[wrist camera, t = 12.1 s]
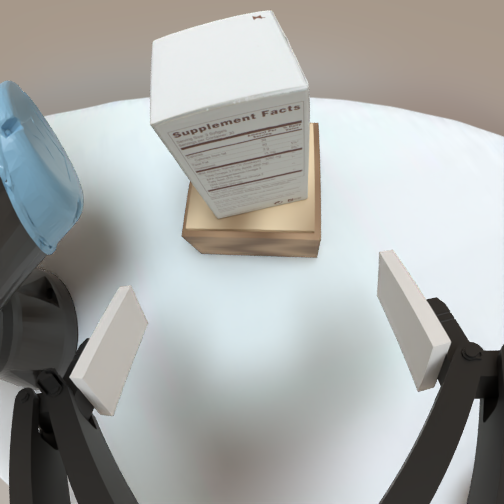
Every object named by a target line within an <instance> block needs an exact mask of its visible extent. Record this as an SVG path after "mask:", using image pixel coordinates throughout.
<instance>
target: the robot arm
mask: <svg viewBox="0 0 504 504" xmlns="http://www.w3.org/2000/svg"><path fill="white" fill-rule="evenodd" d="M82 209H83V192H82V188H81V184H80V181H79V179H78V176H77V174H76V172H75V170H74V167H73V165H72V163H71V161H70V159H69V158H68V156H67V154H66V152H65V150H64V148H63V147H62V145H61V143H60V142H59V140H58V138H57V136H56V135H55V133H54V132H53V130H52V128H51V127H50V125H49V124H48V122H47V121H46V119H45V118H44V116H43V115H42V114H41V112H40V111H39V109H38V108H37V106H36V105H35V104H34V102H33V101H32V100H31V98H30V97H29V96H28V95H27V94H26V93H25V92H23V91H22V90H21V88H20V87H19V86H18V85H17V84H16V83H14V82H12V81H4V82H3V83H1V84H0V379H2V380H4V381H7V382H9V383H12V384H15V385H17V386H20V387H23V388H24V389H22V390H21V391H19V393H18V394H17V396H16V398H15V403H14V411H13V419H12V429H11V442H10V462H9V494H10V504H71V502H70V496H69V488H68V480H67V476H68V479H69V482H70V484H71V487H72V489H73V492H74V495H75V497H76V500H77V502H78V504H138V502H137V500H136V499H135V497H134V495H133V493H132V492H131V490H130V488H129V486H128V485H127V483H126V481H125V479H124V477H123V475H122V473H121V472H120V470H119V468H118V466H117V464H116V462H115V460H114V458H113V456H112V454H111V452H110V450H109V447H108V445H107V443H106V441H105V439H104V437H103V434H102V432H101V430H100V428H99V425H98V423H97V420H96V418H95V416H94V415H93V414H92V411H93V409H94V408H95V409H96V410H97V411H98V413H99V414H100V415H108V416H114V413H115V410H116V407H117V404H118V401H119V399H120V396H121V393H122V390H123V387H124V385H125V382H126V379H127V377H128V374H129V371H130V369H131V366H132V363H133V361H134V358H135V355H136V353H137V350H138V348H139V345H140V343H141V340H142V338H143V335H144V333H145V330H146V328H147V325H148V322H147V320H146V317H145V315H144V313H143V311H142V309H141V307H140V304H139V302H138V300H137V298H136V295H135V293H134V291H133V289H132V286H131V285H130V286H121V287H119V288H118V290H117V292H116V293H115V295H114V297H113V299H112V300H111V302H110V304H109V305H108V307H107V309H106V310H105V312H104V314H103V316H102V317H101V319H100V321H99V323H98V325H97V326H96V328H95V330H94V332H93V334H92V335H91V337H90V338H87V339H86V340H85V341H84V342H83V343H82V344H81V345H80V346H79V348H78V350H77V352H76V347H77V320H76V314H75V309H74V305H73V302H72V299H71V297H70V294H69V292H68V290H67V288H66V287H65V285H64V284H63V283H62V281H61V280H60V279H59V278H58V277H57V276H56V275H54V274H53V273H51V272H48V271H45V270H42V269H39V268H36V267H37V266H38V264H39V263H40V262H41V261H42V260H43V259H44V258H45V256H46V255H49V254H50V255H51V254H52V253H53V252H54V251H55V250H56V247H57V244H58V242H59V241H60V240H61V239H62V238H63V237H64V236H65V234H66V233H67V232H68V231H69V230H70V229H71V228H72V227H73V225H74V224H75V223H76V222H77V221H78V219H79V217H80V215H81V213H82ZM377 297H378V299H379V301H380V303H381V305H382V307H383V310H384V312H385V314H386V316H387V318H388V321H389V323H390V325H391V327H392V330H393V332H394V334H395V336H396V339H397V341H398V343H399V346H400V348H401V351H402V353H403V355H404V358H405V360H406V363H407V365H408V368H409V370H410V373H411V375H412V378H413V380H414V383H415V385H416V388H417V391H418V392H420V391H423V390H427V389H430V388H433V387H434V386H435V384H436V382H437V379H438V381H439V383H440V385H441V387H440V390H439V392H438V394H437V396H436V398H435V402H434V404H433V406H432V408H431V411H430V413H429V415H428V417H427V419H426V421H425V424H424V426H423V428H422V430H421V432H420V434H419V436H418V438H417V440H416V442H415V444H414V446H413V447H412V449H411V451H410V453H409V455H408V457H407V458H406V460H405V462H404V464H403V466H402V467H401V469H400V471H399V472H398V474H397V476H396V477H395V479H394V481H393V482H392V484H391V485H390V487H389V489H388V490H387V492H386V493H385V495H384V496H383V498H382V499H381V501H380V502H379V504H430V502H431V500H432V499H433V497H434V495H435V493H436V491H437V489H438V487H439V485H440V483H441V481H442V479H443V477H444V475H445V473H446V471H447V468H448V466H449V464H450V462H451V460H452V457H453V455H454V453H455V450H456V448H457V445H458V443H459V440H460V438H461V435H462V433H463V430H464V427H465V424H466V422H467V419H468V416H469V413H470V410H471V407H472V404H473V401H474V399H480V410H479V425H478V437H477V446H476V455H475V462H474V469H473V475H472V480H471V486H470V491H469V496H468V500H467V504H504V344H503V346H502V348H501V350H499V351H484V350H483V349H482V348H481V347H480V346H479V345H478V344H476V343H474V342H469V341H468V339H467V337H466V336H465V334H464V332H463V331H462V329H461V328H460V326H459V324H458V323H457V321H456V320H455V319H454V317H453V315H452V313H450V310H449V309H448V307H447V306H446V304H445V303H443V302H442V301H441V300H439V299H438V298H437V297H436V298H432V299H427V300H426V299H425V297H424V295H423V294H422V292H421V291H420V289H419V288H418V286H417V285H416V283H415V282H414V280H413V278H412V277H411V275H410V274H409V272H408V271H407V269H406V268H405V267H404V265H403V264H402V262H401V261H400V259H399V258H398V256H397V255H396V253H395V252H394V251H393V250H389V251H383V252H379V271H378V288H377ZM75 352H76V354H75ZM34 390H40V391H41V392H42V393H38V394H36V393H35V392H34ZM38 428H39V430H38Z"/></svg>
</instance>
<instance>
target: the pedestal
mask: <svg viewBox="0 0 504 504" xmlns="http://www.w3.org/2000/svg"><path fill="white" fill-rule="evenodd" d="M182 237H183V238H184V239H185V240H186V241H187V242H189V243H190V244H191V245H192V246H193V247H195V248H196V249H197V250H198V251H199V252H200V253H202V254H225V255H254V256H284V257H315V258H317V255H318V250H319V246H320V241H321V185H320V149H319V125H318V123H310V134H309V169H308V198H307V199H305V200H300V201H296V202H291V203H287V204H283V205H278V206H273V207H269V208H264V209H260V210H255V211H251V212H247V213H242V214H238V215H234V216H229V217H224V218H220V219H218V218H217V217H216V216H215V214H214V213H213V212H212V210H211V209H210V208H209V206H208V205H207V204H206V202H205V201H204V199H203V198H202V197H201V195H200V194H199V192H198V191H197V190H196V188H195V187H194V186H193V184H192V183H191V181H190V184H189V190H188V196H187V203H186V209H185V216H184V223H183V230H182Z"/></svg>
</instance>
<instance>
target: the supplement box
mask: <svg viewBox="0 0 504 504" xmlns="http://www.w3.org/2000/svg"><path fill="white" fill-rule="evenodd" d="M150 125H151V126H152V128H153V129H154V130H155V132H156V133H157V134H158V136H159V137H160V139H161V140H162V142H163V143H164V144H165V146H166V147H167V149H168V150H169V152H170V153H171V154H172V156H173V157H174V158H175V160H176V161H177V163H178V164H179V166H180V167H181V169H182V170H183V171H184V173H185V174H186V176H187V177H188V179H189V180H190V181H191V183H192V184H193V186H194V187H195V188H196V190H197V191H198V192H199V194H200V195H201V197H202V198H203V199H204V201H205V202H206V204H207V205H208V206H209V208H210V209H211V210H212V212H213V213H214V214H215V216H216V217H217V218H218V219H220V218H224V217H229V216H234V215H238V214H242V213H247V212H251V211H255V210H260V209H264V208H269V207H273V206H278V205H283V204H287V203H291V202H296V201H300V200H305V199H307V198H308V169H309V134H310V99H309V85H308V82H307V80H306V78H305V75H304V73H303V71H302V69H301V67H300V65H299V63H298V61H297V58H296V57H295V54H294V52H293V50H292V48H291V46H290V44H289V41H288V39H287V37H286V36H285V34H284V32H283V30H282V29H281V27H280V25H279V23H278V21H277V19H276V17H275V15H274V13H273V11H261V12H254V13H249V14H244V15H238V16H234V17H230V18H226V19H221V20H217V21H214V22H210V23H206V24H202V25H199V26H195V27H192V28H189V29H186V30H182V31H180V32H176V33H173V34H170V35H167V36H164V37H162V38H159V39H157V40H154V41H153V44H152V59H151V86H150Z"/></svg>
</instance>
